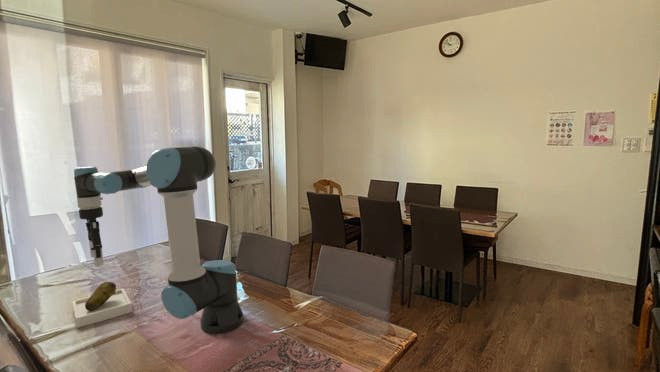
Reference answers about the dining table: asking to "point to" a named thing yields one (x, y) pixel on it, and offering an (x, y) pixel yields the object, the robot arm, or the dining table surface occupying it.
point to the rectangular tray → (102, 309)
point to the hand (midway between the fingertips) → (97, 261)
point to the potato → (100, 295)
